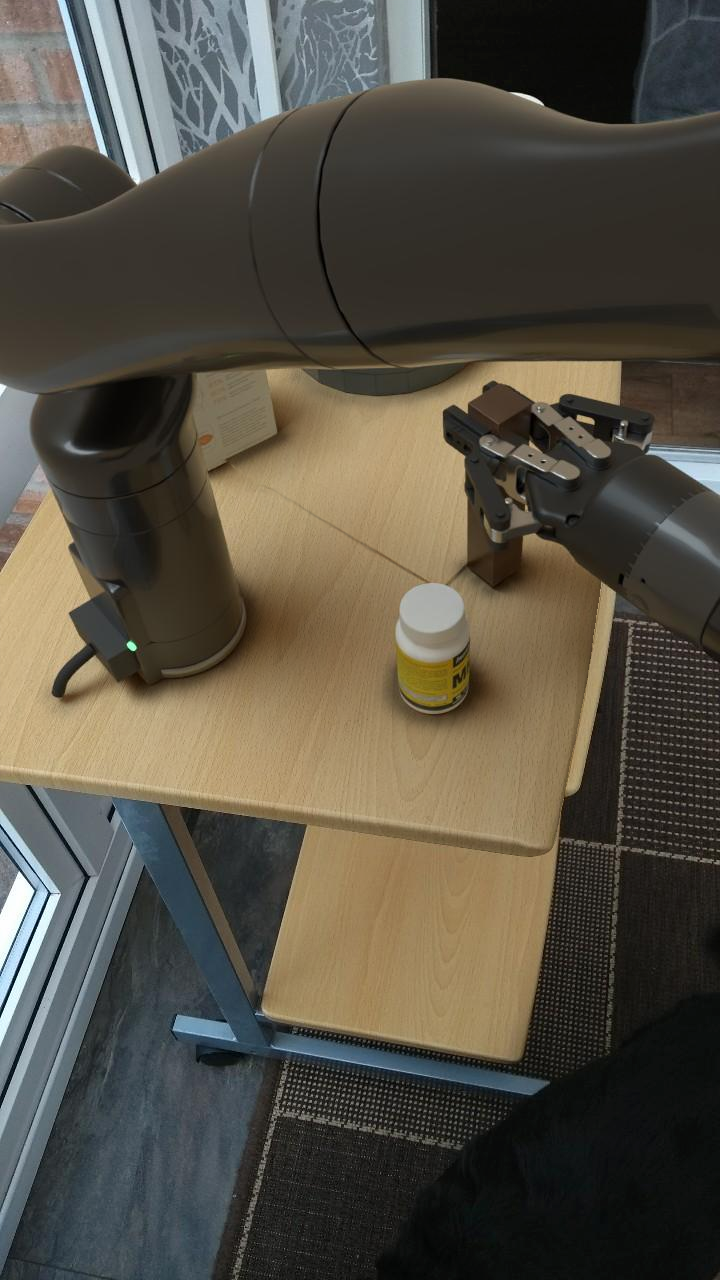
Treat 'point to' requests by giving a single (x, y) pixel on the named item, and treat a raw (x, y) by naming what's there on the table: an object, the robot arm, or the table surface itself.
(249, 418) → the small box
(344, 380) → the bowl
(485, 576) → the stick
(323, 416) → the table surface
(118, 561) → the robot arm
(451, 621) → the supplement bottle
